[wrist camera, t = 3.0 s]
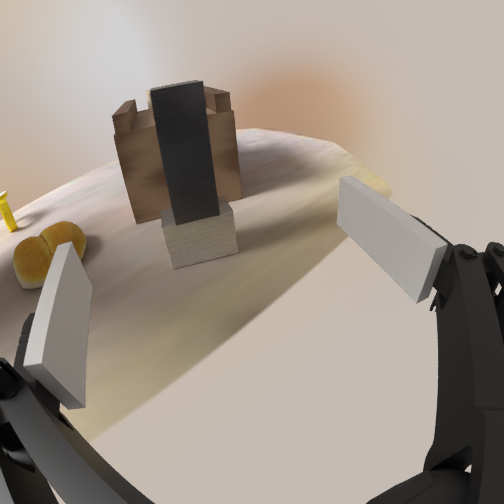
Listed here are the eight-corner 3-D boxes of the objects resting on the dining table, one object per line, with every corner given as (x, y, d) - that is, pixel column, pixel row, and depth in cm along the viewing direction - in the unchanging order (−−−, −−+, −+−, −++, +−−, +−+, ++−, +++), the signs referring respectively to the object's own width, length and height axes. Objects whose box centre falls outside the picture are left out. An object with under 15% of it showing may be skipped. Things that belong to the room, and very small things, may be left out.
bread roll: (100, 256, 27) (86, 221, 24) (29, 303, 22) (9, 270, 19) (75, 231, 31) (64, 202, 29) (16, 268, 26) (2, 240, 24)
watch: (4, 230, 35) (-10, 197, 32) (17, 221, 37) (4, 189, 34) (8, 237, 32) (-7, 201, 29) (22, 227, 34) (8, 191, 30)
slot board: (136, 224, 31) (109, 116, 24) (138, 175, 43) (123, 102, 36) (242, 198, 33) (231, 91, 26) (213, 158, 46) (204, 85, 38)
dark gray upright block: (174, 270, 24) (133, 94, 16) (170, 248, 26) (136, 92, 18) (238, 254, 25) (219, 79, 17) (228, 233, 28) (209, 78, 19)
